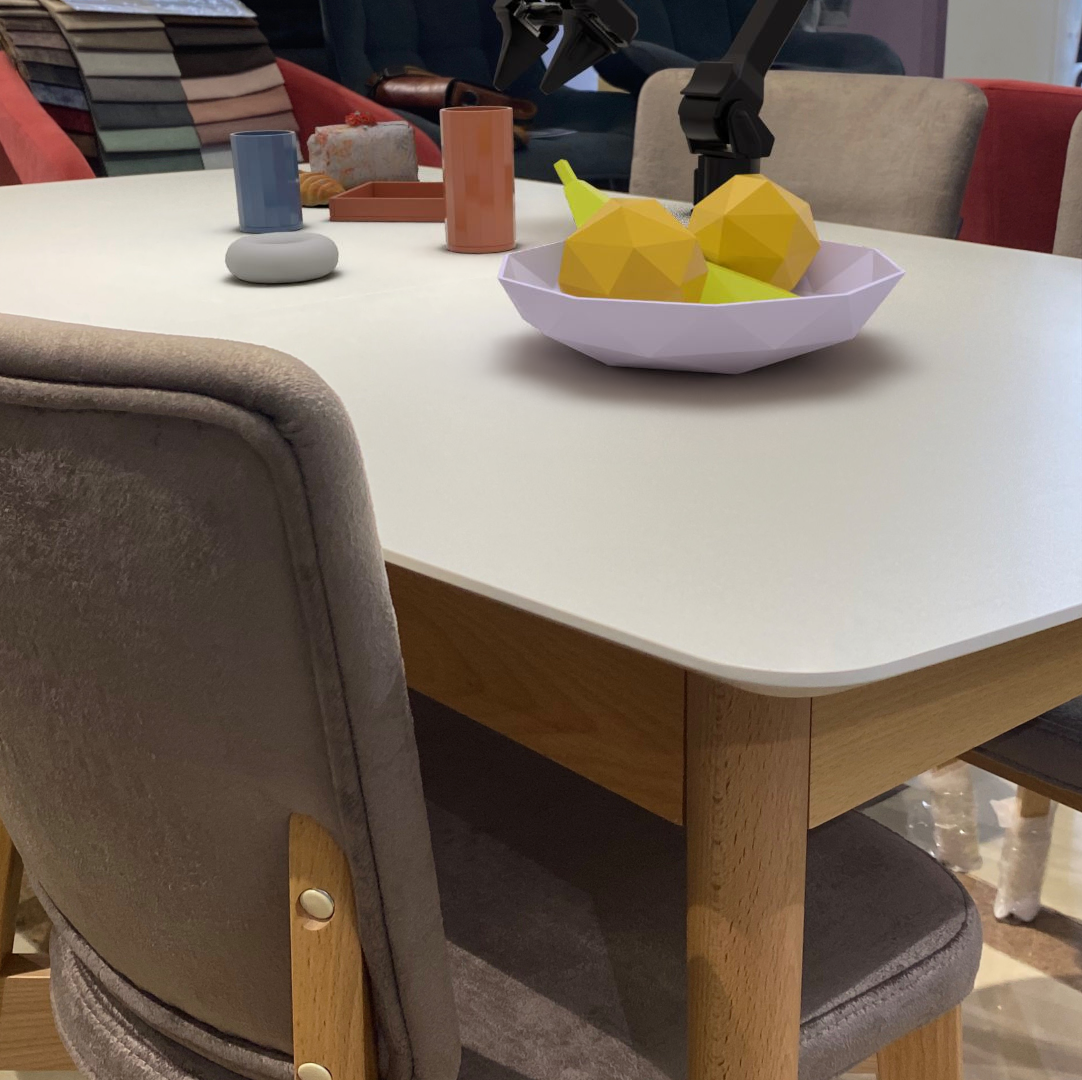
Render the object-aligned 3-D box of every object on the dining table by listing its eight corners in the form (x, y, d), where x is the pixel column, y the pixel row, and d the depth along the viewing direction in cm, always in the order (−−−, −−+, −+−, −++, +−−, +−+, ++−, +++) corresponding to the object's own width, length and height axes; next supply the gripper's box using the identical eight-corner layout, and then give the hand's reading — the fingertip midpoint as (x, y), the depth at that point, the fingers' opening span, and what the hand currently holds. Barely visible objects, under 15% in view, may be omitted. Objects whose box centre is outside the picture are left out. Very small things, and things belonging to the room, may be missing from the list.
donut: (307, 291, 110) (359, 267, 119) (303, 250, 109) (356, 229, 117) (205, 285, 113) (263, 263, 122) (200, 245, 112) (259, 225, 121)
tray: (506, 203, 157) (506, 182, 156) (478, 222, 143) (477, 199, 143) (370, 202, 160) (369, 181, 159) (329, 220, 147) (328, 198, 146)
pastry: (361, 203, 159) (358, 171, 158) (315, 210, 155) (312, 177, 153) (316, 197, 165) (313, 166, 164) (271, 203, 161) (268, 172, 160)
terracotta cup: (528, 244, 129) (525, 107, 124) (491, 255, 124) (486, 112, 119) (471, 240, 132) (466, 105, 127) (433, 250, 127) (426, 110, 122)
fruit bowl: (977, 377, 80) (998, 188, 76) (558, 421, 73) (555, 217, 69) (775, 292, 105) (783, 146, 101) (448, 319, 98) (441, 164, 94)
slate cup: (315, 225, 143) (308, 131, 140) (274, 235, 138) (265, 136, 134) (269, 222, 147) (260, 129, 143) (226, 231, 141) (216, 135, 137)
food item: (320, 196, 166) (313, 116, 163) (309, 189, 173) (302, 112, 170) (423, 189, 171) (419, 111, 167) (408, 183, 178) (403, 107, 174)
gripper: (497, -96, 131) (417, 37, 131) (599, -112, 116) (509, 38, 116) (571, -22, 138) (495, 104, 138) (676, -28, 123) (591, 114, 123)
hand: (519, 90), depth 128 cm, fingers open, 9 cm apart
